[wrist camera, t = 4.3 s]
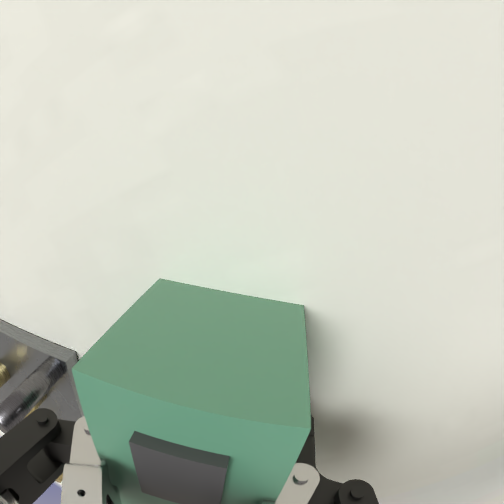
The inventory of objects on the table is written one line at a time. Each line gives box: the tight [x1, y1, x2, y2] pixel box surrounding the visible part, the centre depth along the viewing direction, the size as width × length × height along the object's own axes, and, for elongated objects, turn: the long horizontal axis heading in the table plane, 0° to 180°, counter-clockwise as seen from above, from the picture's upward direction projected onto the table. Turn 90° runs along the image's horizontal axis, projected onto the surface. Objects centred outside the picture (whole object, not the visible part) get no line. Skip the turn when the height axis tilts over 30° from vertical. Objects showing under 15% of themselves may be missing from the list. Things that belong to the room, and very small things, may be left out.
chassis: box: [0, 319, 84, 483], centre depth 13 cm, size 14×10×6 cm
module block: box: [72, 279, 311, 504], centre depth 10 cm, size 10×6×7 cm, turn 172°
